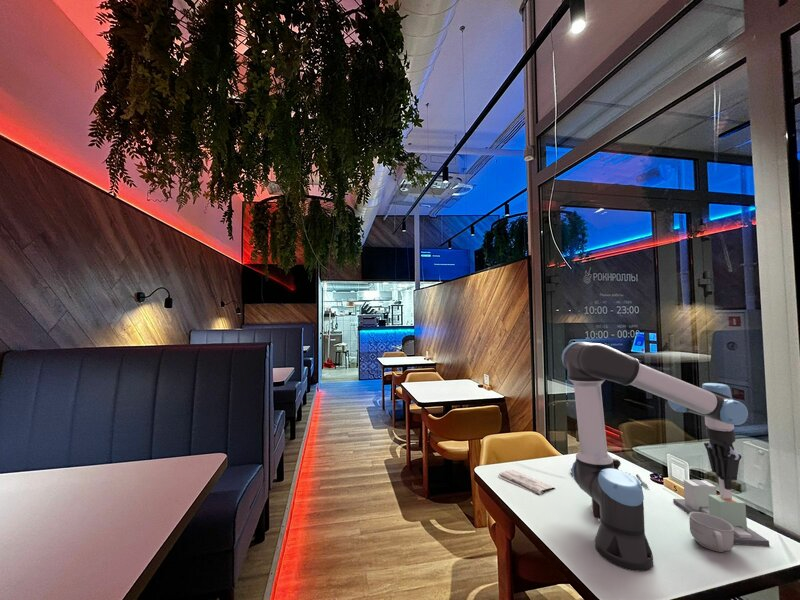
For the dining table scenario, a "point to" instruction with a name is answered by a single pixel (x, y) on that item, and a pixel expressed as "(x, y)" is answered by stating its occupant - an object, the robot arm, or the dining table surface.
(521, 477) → the newspaper
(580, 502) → the dining table surface
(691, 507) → the stepped base plate
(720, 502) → the block
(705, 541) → the teacup
